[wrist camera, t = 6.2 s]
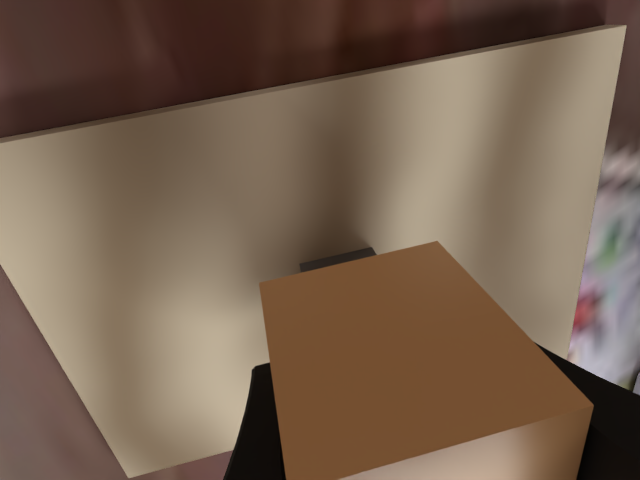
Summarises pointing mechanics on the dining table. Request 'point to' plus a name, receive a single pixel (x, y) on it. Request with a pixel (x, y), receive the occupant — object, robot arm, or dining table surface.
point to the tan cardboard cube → (413, 377)
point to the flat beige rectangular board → (296, 218)
